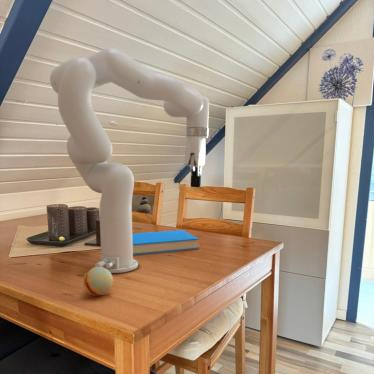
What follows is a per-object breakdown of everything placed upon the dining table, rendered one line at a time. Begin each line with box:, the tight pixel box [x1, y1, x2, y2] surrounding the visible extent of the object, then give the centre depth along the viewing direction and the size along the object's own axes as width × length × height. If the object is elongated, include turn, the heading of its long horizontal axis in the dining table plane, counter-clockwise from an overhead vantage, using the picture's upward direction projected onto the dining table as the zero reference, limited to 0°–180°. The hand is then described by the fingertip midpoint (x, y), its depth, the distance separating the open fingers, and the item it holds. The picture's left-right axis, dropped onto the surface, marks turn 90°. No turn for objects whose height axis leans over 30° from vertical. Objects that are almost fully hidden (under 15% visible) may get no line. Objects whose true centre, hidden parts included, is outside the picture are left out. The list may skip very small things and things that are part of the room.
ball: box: [82, 266, 114, 297], centre depth 85 cm, size 7×7×7 cm
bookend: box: [84, 218, 101, 247], centre depth 139 cm, size 14×9×10 cm, turn 163°
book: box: [132, 229, 199, 256], centre depth 132 cm, size 17×4×25 cm
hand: (195, 187), depth 124 cm, fingers closed
